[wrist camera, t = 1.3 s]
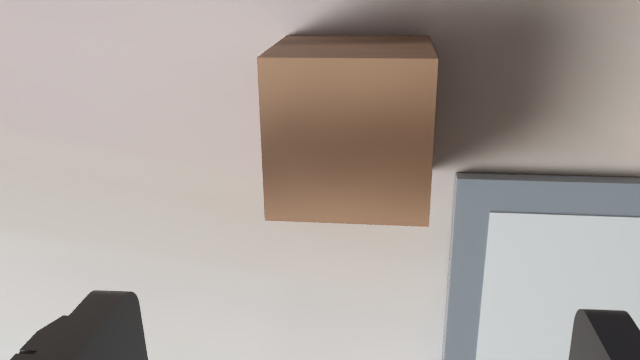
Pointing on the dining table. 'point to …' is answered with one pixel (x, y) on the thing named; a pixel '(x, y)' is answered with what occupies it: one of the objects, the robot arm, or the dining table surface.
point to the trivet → (537, 261)
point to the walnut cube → (348, 129)
